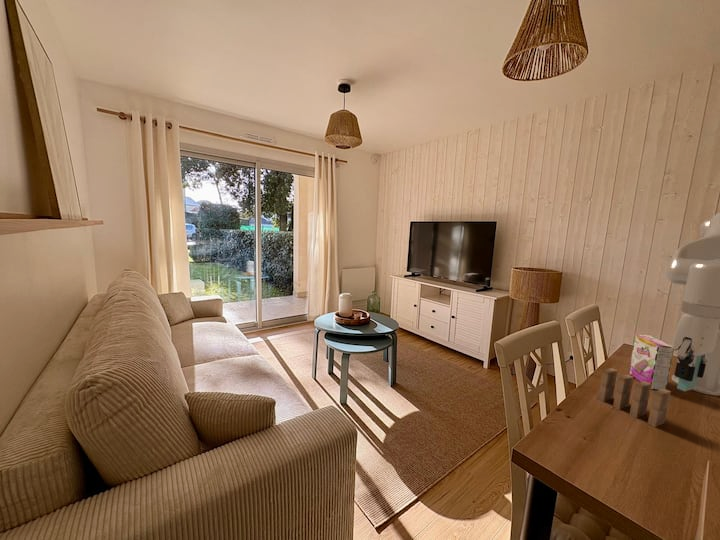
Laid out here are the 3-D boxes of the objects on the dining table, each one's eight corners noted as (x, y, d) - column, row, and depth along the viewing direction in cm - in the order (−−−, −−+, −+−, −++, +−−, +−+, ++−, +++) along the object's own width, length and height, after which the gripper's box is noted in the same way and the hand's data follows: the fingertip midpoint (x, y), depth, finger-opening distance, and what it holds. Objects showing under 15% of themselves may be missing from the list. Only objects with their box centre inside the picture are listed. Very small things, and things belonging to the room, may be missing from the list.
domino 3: (638, 411, 88) (644, 380, 86) (645, 414, 87) (651, 383, 85) (629, 414, 86) (635, 383, 85) (636, 418, 85) (642, 386, 83)
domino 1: (606, 395, 96) (611, 368, 94) (612, 398, 94) (617, 370, 93) (597, 398, 94) (602, 370, 92) (603, 401, 92) (608, 372, 91)
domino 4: (656, 419, 84) (663, 388, 83) (664, 423, 83) (670, 391, 81) (647, 423, 82) (654, 391, 81) (654, 427, 81) (661, 394, 79)
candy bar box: (627, 373, 111) (634, 333, 109) (642, 375, 110) (650, 334, 108) (649, 389, 100) (658, 345, 98) (666, 391, 99) (675, 347, 97)
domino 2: (622, 403, 92) (627, 374, 90) (628, 406, 90) (633, 376, 89) (612, 406, 90) (618, 376, 88) (619, 409, 89) (624, 379, 87)
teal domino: (686, 385, 78) (693, 350, 77) (694, 388, 77) (702, 352, 75) (676, 388, 76) (684, 352, 75) (685, 391, 75) (693, 355, 73)
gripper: (697, 304, 80) (684, 365, 83) (665, 309, 74) (652, 375, 76) (740, 312, 73) (724, 378, 76) (709, 318, 67) (693, 390, 69)
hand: (688, 376), depth 76 cm, fingers closed on teal domino, 4 cm apart
